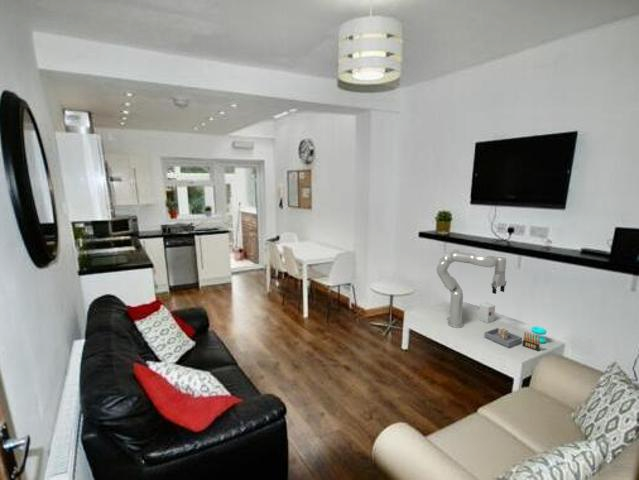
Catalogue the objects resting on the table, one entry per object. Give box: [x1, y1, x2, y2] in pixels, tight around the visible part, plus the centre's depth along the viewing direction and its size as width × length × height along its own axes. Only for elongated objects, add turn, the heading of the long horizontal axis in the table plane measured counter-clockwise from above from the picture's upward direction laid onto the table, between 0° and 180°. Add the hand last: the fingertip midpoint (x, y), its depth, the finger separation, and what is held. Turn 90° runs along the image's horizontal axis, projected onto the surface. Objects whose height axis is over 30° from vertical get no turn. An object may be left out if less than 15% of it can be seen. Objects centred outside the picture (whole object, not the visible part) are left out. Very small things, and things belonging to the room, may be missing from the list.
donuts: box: [530, 326, 548, 344], centre depth 255 cm, size 10×10×10 cm
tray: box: [483, 327, 523, 349], centre depth 258 cm, size 20×16×4 cm
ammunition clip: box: [521, 330, 541, 352], centre depth 245 cm, size 11×2×12 cm, turn 39°
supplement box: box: [478, 302, 496, 324], centre depth 294 cm, size 9×9×15 cm
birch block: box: [498, 327, 509, 340], centre depth 258 cm, size 4×4×8 cm
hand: (498, 292), depth 272 cm, fingers open, 9 cm apart
